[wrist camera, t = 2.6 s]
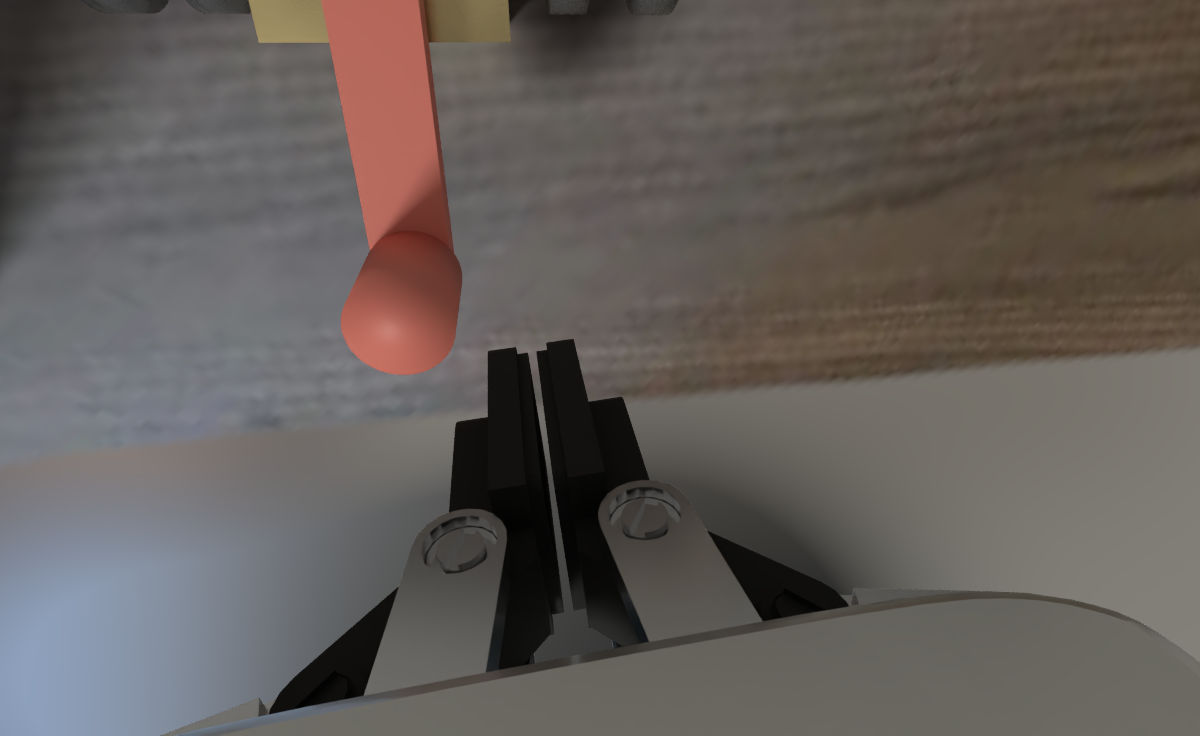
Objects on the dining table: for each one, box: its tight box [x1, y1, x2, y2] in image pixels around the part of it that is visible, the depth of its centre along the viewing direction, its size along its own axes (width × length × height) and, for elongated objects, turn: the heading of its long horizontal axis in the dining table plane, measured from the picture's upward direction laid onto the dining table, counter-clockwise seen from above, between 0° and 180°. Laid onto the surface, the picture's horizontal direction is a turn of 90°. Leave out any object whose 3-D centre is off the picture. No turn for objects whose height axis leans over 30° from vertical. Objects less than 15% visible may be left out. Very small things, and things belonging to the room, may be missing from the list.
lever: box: [321, 0, 462, 375], centre depth 17 cm, size 13×4×5 cm, turn 0°
